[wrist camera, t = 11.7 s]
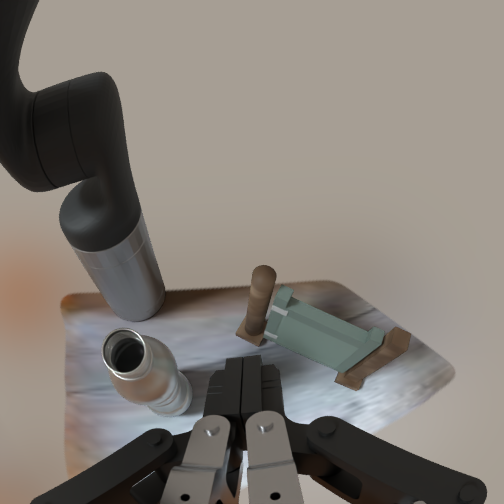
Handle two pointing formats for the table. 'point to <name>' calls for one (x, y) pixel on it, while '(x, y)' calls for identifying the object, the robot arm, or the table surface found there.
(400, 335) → the post
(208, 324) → the table surface
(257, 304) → the hinge post
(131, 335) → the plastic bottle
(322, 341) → the gate
